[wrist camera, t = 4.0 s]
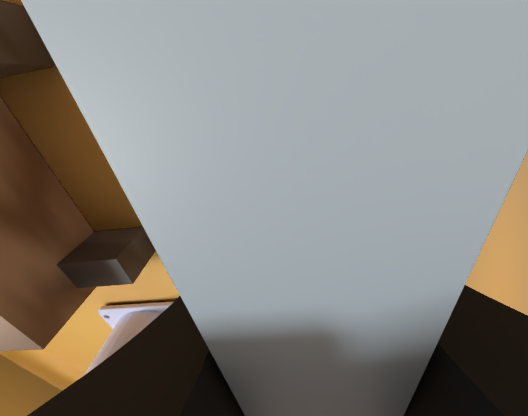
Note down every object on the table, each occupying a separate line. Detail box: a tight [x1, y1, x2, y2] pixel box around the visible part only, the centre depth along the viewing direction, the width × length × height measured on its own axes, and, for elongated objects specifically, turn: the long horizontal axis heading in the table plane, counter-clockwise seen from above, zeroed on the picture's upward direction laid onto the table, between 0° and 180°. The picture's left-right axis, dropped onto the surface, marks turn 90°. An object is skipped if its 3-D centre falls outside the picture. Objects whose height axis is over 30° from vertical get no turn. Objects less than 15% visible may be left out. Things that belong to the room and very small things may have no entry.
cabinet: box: [0, 0, 156, 351], centre depth 10 cm, size 15×17×6 cm
